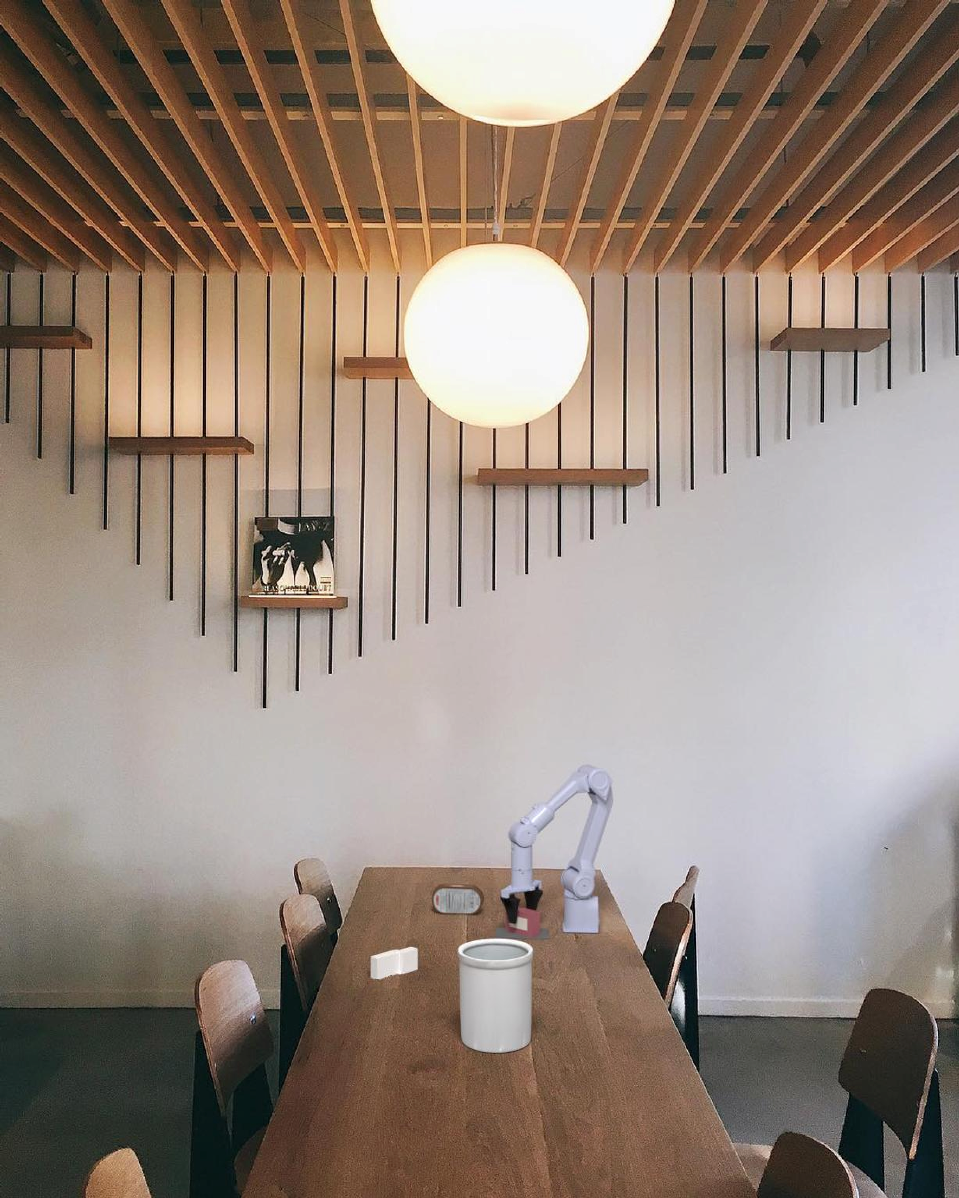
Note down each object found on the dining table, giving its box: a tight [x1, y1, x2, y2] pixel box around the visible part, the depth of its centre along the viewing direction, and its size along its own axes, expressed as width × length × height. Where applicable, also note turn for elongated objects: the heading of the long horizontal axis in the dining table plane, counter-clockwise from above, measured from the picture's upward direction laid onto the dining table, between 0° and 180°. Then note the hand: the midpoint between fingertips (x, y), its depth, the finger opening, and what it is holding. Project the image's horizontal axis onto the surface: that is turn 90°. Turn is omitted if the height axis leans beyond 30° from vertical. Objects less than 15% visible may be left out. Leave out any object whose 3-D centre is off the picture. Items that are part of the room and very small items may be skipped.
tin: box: [431, 882, 485, 916], centre depth 279 cm, size 15×3×8 cm, turn 84°
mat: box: [494, 927, 549, 940], centre depth 260 cm, size 14×8×1 cm, turn 86°
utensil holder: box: [457, 938, 534, 1054], centre depth 191 cm, size 15×15×18 cm
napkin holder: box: [370, 946, 419, 980], centre depth 229 cm, size 15×11×6 cm
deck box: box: [505, 906, 541, 938], centre depth 260 cm, size 4×9×6 cm, turn 48°
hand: (521, 919), depth 260 cm, fingers open, 7 cm apart
